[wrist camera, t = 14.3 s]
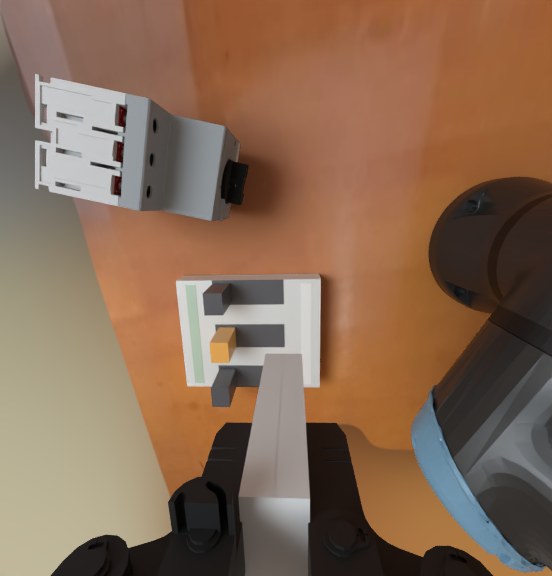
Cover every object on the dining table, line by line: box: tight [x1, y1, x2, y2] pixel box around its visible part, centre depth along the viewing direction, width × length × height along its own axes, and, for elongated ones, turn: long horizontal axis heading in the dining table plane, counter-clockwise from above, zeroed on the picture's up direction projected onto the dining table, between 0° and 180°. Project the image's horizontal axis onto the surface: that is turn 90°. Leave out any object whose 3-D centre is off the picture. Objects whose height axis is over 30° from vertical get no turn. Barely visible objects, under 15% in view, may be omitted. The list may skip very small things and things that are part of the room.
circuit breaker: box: [35, 74, 248, 221], centre depth 29 cm, size 8×14×15 cm, turn 78°
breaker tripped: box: [210, 327, 236, 363], centre depth 36 cm, size 2×2×4 cm
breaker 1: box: [202, 283, 231, 316], centre depth 34 cm, size 2×2×4 cm
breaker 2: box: [211, 368, 237, 407], centre depth 37 cm, size 2×2×4 cm
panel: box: [176, 274, 321, 387], centre depth 39 cm, size 17×14×3 cm
